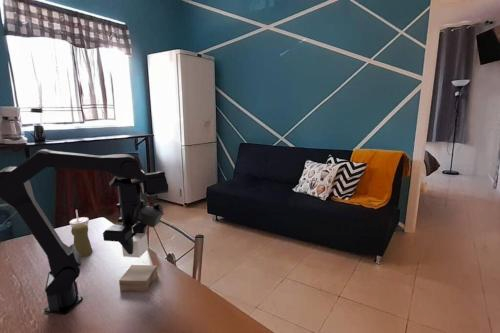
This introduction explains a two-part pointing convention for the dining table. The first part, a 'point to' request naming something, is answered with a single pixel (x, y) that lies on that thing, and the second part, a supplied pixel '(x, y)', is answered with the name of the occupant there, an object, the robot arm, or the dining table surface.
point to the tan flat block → (138, 278)
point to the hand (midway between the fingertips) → (135, 249)
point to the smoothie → (79, 221)
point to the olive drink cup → (81, 240)
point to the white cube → (138, 246)
